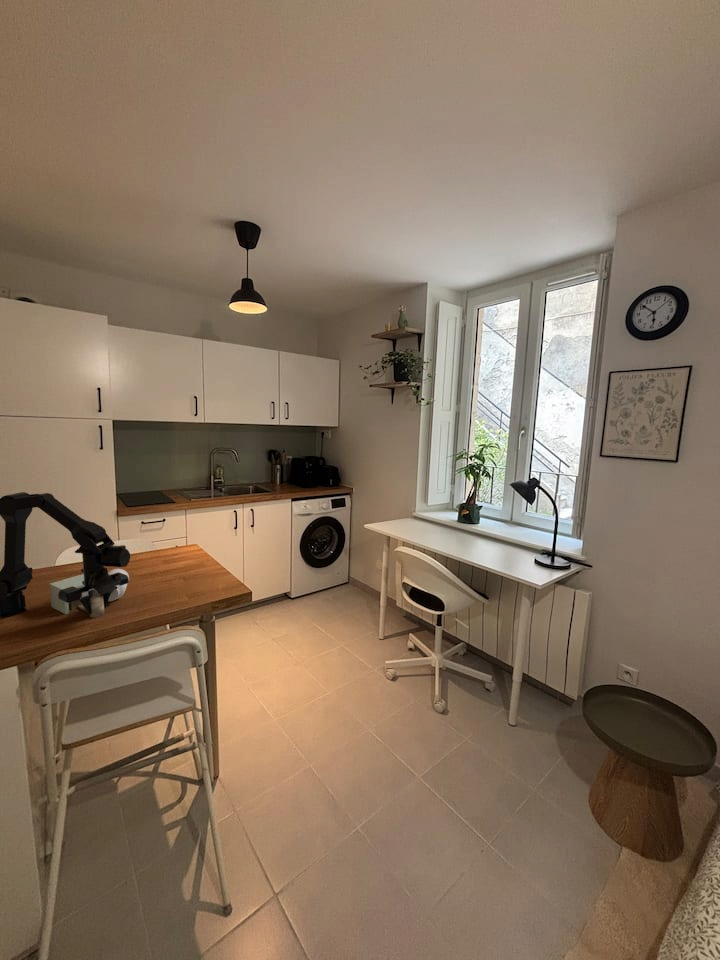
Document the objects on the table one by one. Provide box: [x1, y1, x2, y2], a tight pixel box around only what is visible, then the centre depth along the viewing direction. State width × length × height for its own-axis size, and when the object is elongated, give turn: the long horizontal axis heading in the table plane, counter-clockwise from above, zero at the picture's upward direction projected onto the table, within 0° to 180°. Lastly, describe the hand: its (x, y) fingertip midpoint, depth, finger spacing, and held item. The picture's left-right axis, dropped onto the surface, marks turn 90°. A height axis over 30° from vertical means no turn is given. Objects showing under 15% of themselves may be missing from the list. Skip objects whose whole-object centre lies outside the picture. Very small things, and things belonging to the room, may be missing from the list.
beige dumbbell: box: [69, 594, 105, 619], centre depth 132 cm, size 5×18×6 cm, turn 61°
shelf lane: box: [49, 573, 100, 615], centre depth 135 cm, size 10×10×8 cm
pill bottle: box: [108, 568, 130, 603], centre depth 143 cm, size 8×8×15 cm
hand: (96, 611), depth 129 cm, fingers closed on beige dumbbell, 4 cm apart
